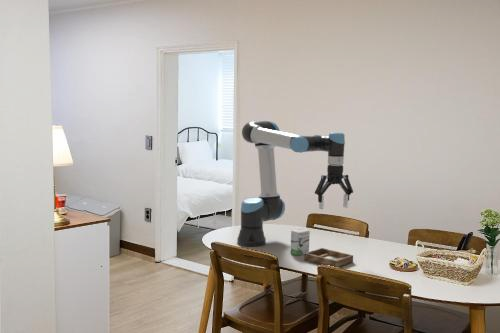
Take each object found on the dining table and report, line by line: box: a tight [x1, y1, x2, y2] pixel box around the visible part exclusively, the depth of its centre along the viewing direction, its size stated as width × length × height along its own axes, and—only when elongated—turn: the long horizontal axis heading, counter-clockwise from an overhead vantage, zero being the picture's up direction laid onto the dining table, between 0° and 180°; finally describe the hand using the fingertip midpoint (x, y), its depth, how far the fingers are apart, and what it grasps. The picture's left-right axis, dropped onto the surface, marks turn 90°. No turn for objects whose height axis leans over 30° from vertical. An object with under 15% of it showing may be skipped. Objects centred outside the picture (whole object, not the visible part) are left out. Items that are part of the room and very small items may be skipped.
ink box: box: [290, 228, 311, 256], centre depth 262 cm, size 9×5×12 cm, turn 128°
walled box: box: [304, 247, 354, 268], centre depth 250 cm, size 18×14×4 cm
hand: (333, 208), depth 256 cm, fingers open, 13 cm apart
